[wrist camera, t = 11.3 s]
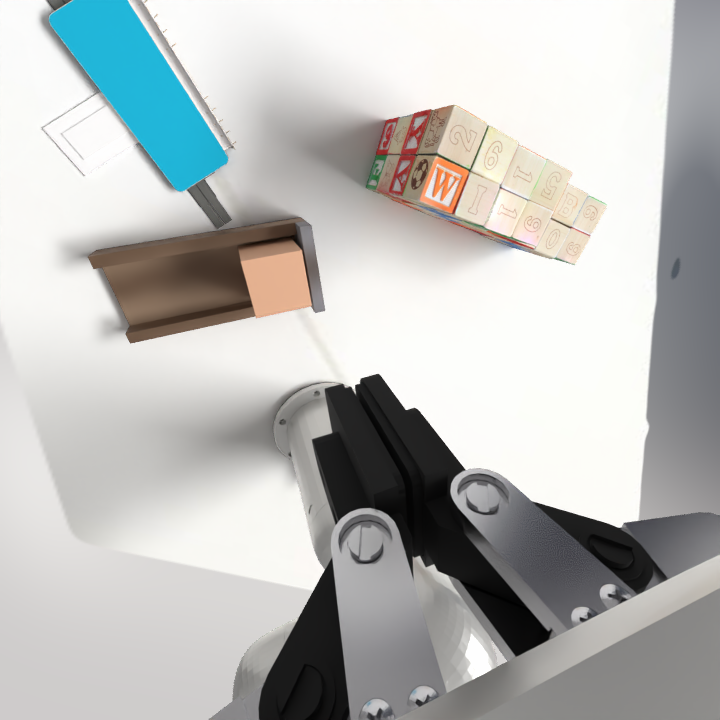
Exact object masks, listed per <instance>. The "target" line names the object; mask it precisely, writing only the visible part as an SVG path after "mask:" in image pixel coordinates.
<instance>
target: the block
mask: <svg viewBox="0 0 720 720" xmlns="http://www.w3.org/2000/svg"><path fill="white" fill-rule="evenodd" d="M238 250H239V255H240V260H241V264H242V268H243V271H244V275H245V279H246V282H247V286H248V290H249V293H250V297H251V301H252V304H253V308H254V312H255V315H256V318H259V317H264V316H269V315H273V314H278V313H282V312H287V311H291V310H296V309H300V308H305V307H310V306H312V304H311V298H310V293H309V287H308V282H307V276H306V271H305V265H304V260H303V254H302V250H301V249H300V248H299V246H298V245H297V244H296V243H295V242H294V241H293V240H292V238H291V237H288V238H283V239H277V240H271V241H265V242H259V243H254V244H248V245H242V246H238Z"/></svg>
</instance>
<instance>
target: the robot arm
mask: <svg viewBox="0 0 720 720" xmlns="http://www.w3.org/2000/svg"><path fill="white" fill-rule="evenodd" d="M273 432H274V438H275V442H276V445H277V447H278V448H279V450H280V451H281V452H282V453H283V454H284V455H285V456H286V457H288V458H289V459H291V460H293V464H294V468H295V473H296V477H297V481H298V485H299V489H300V494H301V498H302V502H303V506H304V510H305V515H306V519H307V523H308V527H309V532H310V536H311V540H312V544H313V548H314V551H315V554H316V556H317V558H318V560H319V562H320V564H321V565H322V566H323V568H324V569H325V571H324V573H323V574H322V576H321V578H320V580H319V582H318V584H317V585H316V587H315V589H314V591H313V593H312V594H311V596H310V598H309V600H308V602H307V604H306V605H305V607H304V609H303V611H302V613H301V615H300V616H299V618H296V619H294V620H292V621H290V622H288V623H286V624H284V625H282V626H280V627H278V628H276V629H274V630H272V631H271V632H269V633H267V634H265V635H264V636H262V637H261V638H259V639H258V640H257V641H256V642H254V644H252V645H251V646H250V648H249V649H248V650H247V651H246V653H245V654H244V656H243V657H242V659H241V661H240V664H239V666H238V668H237V672H236V676H235V680H234V688H233V701H232V702H231V703H230V704H228V705H227V706H226V707H224V708H223V709H222V710H220V711H219V712H218V713H217V714H215V715H214V716H213V717H211V718H210V719H209V720H720V515H716V514H713V513H701V512H699V513H691V514H684V515H677V516H670V517H663V518H655V519H648V520H641V521H634V522H627V523H624V524H623V526H622V527H621V528H617V527H615V526H612V525H610V524H607V523H604V522H601V521H597V520H594V519H590V518H587V517H584V516H580V515H577V514H573V513H570V512H567V511H563V510H560V509H556V508H553V507H549V506H546V505H543V504H539V503H536V502H532V501H531V500H530V499H529V498H527V497H526V496H525V495H524V494H523V493H522V492H521V491H520V490H518V489H517V488H516V487H515V486H514V485H513V484H512V483H510V482H509V481H508V480H507V479H506V478H504V477H503V476H501V475H500V474H498V473H496V472H493V471H491V470H487V469H481V468H476V469H468V470H465V469H464V467H463V466H462V465H461V464H460V462H459V461H458V460H457V458H456V457H455V456H454V455H453V453H452V452H451V451H450V450H449V448H448V447H447V446H446V444H445V443H444V442H443V441H442V439H441V438H440V437H439V435H438V434H437V433H436V432H435V430H434V429H433V428H432V427H431V425H430V424H429V423H428V421H427V420H426V419H425V418H424V416H423V415H422V414H421V413H420V411H419V410H418V409H416V408H412V409H409V410H405V408H404V407H403V406H402V404H401V403H400V402H399V400H398V399H397V398H396V396H395V395H394V393H393V392H392V391H391V389H390V388H389V387H388V385H387V384H386V383H385V381H384V380H383V378H382V377H381V376H380V375H379V374H376V375H372V376H368V377H365V378H361V380H360V384H357V385H355V390H354V389H352V388H351V387H348V386H346V385H343V384H339V383H320V384H315V385H311V386H309V387H306V388H304V389H302V390H300V391H298V392H297V393H295V394H293V395H292V396H291V397H290V398H289V399H287V400H286V402H285V403H284V404H283V405H282V406H281V408H280V409H279V411H278V413H277V415H276V418H275V421H274V427H273ZM492 641H493V642H494V643H495V645H496V646H497V647H498V649H499V650H500V652H501V653H502V654H503V656H504V657H505V659H506V660H507V661H508V662H506V663H504V664H502V665H500V666H498V667H497V658H496V653H495V649H494V646H493V642H492Z"/></svg>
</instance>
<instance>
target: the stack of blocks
mask: <svg viewBox="0 0 720 720" xmlns="http://www.w3.org/2000/svg"><path fill="white" fill-rule="evenodd" d="M571 175H572V172H571V171H569V170H567V169H565V168H564V167H562V166H560V165H558V164H556V163H554V162H553V161H551V160H549V159H545V158H543V157H541V156H540V155H538V154H536V153H534V152H532V151H530V150H529V149H527V148H525V147H523V146H521V145H519V143H518V142H517V141H516V140H514V139H512V138H511V137H509V136H507V135H505V134H504V133H502V132H500V131H498V130H497V129H495V128H493V127H491V126H487V123H486V122H484V121H482V120H481V119H479V118H477V117H476V116H474V115H472V114H471V113H469V112H467V111H466V110H464V109H462V108H461V107H459V106H456V105H451V106H447V107H442V108H439V109H435V110H432V109H429V110H425V111H421V112H417V113H414V114H412V115H409V116H404V117H397V118H394V119H389V120H387V121H386V124H385V127H384V130H383V133H382V136H381V140H380V143H379V146H378V149H377V152H376V157H375V160H374V164H373V167H372V170H371V173H370V176H369V179H368V182H367V185H366V188H367V189H369V190H372V191H374V192H377V193H379V194H382V195H384V196H386V197H389V198H391V199H392V200H394V201H396V202H399V203H401V204H404V205H406V206H409V207H411V208H414V209H416V210H418V211H421V212H423V213H426V214H428V215H431V216H433V217H436V218H439V219H443V220H446V221H449V222H451V223H454V224H456V225H459V226H462V227H465V228H468V229H470V230H473V231H475V232H478V233H480V235H482V236H484V237H487V238H489V239H492V240H494V241H497V242H499V243H503V244H505V245H508V246H510V247H513V248H516V249H519V250H523V251H526V252H529V253H532V254H535V255H539V256H542V257H545V258H549V259H556V260H559V261H563V262H566V263H570V264H573V265H575V264H576V262H577V260H578V259H579V257H580V255H581V253H582V251H583V250H584V248H585V246H586V244H587V243H588V241H589V239H590V235H591V234H592V232H593V231H594V229H595V227H596V225H597V224H598V222H599V220H600V218H601V216H602V214H603V213H604V211H605V209H606V207H607V205H606V204H605V203H603V202H601V201H599V200H597V199H595V198H593V197H591V196H588V194H587V193H585V192H583V191H581V190H579V189H578V188H576V187H574V186H572V185H570V184H567V183H568V181H569V179H570V177H571Z"/></svg>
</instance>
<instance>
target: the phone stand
mask: <svg viewBox="0 0 720 720" xmlns="http://www.w3.org/2000/svg"><path fill="white" fill-rule="evenodd" d="M47 1H48V2H49V3H50V5H51V6H52V7H53V9H54V10H55V11H54V12H52V13H51V14H50V16H49V23H50V25H51V27H52V28H53V29H54V31H55V32H56V33H57V35H58V36H59V37H60V38H61V40H62V41H63V42H64V44H65V45H66V46H67V48H68V49H69V50H70V52H71V53H72V54H73V56H74V57H75V58H76V59H77V61H78V62H79V63H80V65H81V66H82V67H83V69H84V70H85V71H86V73H87V74H88V75H89V77H90V78H91V79H92V80H93V82H94V83H95V84H96V86H97V87H98V88H99V90H100V91H101V92H99V93H97V94H96V95H94V96H93V97H91V98H90V99H88V100H86V101H85V102H83V103H82V104H80V105H78V106H77V107H75V108H74V109H72V110H71V111H69V112H67V113H66V114H64V115H63V116H61V117H60V118H58V119H56V120H55V121H53V122H52V123H50V124H48V125H47V126H45V127H44V128H43V129H44V130H45V131H46V133H47V134H48V135H49V136H50V137H51V138H52V139H53V140H54V142H55V143H56V144H57V145H58V146H59V147H60V148H61V149H62V151H63V152H64V153H65V154H66V155H67V156H68V157H69V158H70V160H71V161H72V162H73V163H74V164H75V165H76V166H77V167H78V169H79V170H80V171H81V172H82V173H83V174H84V175H85V176H87V175H89V174H90V173H92V172H93V171H95V170H96V169H98V168H100V167H101V166H103V165H104V164H106V163H107V162H109V161H111V160H112V159H114V158H115V157H117V156H118V155H120V154H122V153H123V152H125V151H126V150H128V149H129V148H131V147H133V146H134V145H136V144H137V143H139V142H140V143H141V145H142V146H143V147H144V149H145V150H146V151H147V153H148V154H149V155H150V157H151V158H152V159H153V161H154V162H155V163H156V164H157V166H158V167H159V168H160V170H161V171H162V172H163V174H164V175H165V176H166V178H167V179H168V180H169V182H170V183H171V184H172V185H173V187H174V188H175V189H176V190H177V191H180V192H183V191H185V190H187V189H188V191H189V192H190V193H191V195H192V196H193V197H194V199H195V200H196V201H197V203H198V204H199V206H200V207H202V209H203V210H204V211H205V213H206V214H207V215H208V217H209V218H210V219H211V221H212V222H213V223H214V225H215V226H216V227H217V229H218V228H220V227H221V226H223V225H224V224H223V222H224V223H225V224H226V223H228V222H229V221H231V220H232V219H231V218H230V217H229V215H228V214H227V212H226V211H225V209H224V208H223V207H222V205H221V204H220V202H219V201H218V200H217V198H216V195H215V194H214V193H213V191H212V190H211V188H210V187H209V186H208V184H207V183H206V181H205V180H204V179H205V178H207V177H208V176H210V175H211V174H213V173H214V172H215V171H216V170H218V169H220V168H221V167H223V166H224V165H226V164H227V163H228V155H227V154H226V152H225V150H226V149H228V148H229V147H231V146H232V147H233V148H234V146H233V144H234V143H236V142H234V143H233V144H232V143H231V141H230V139H229V138H228V136H227V135H226V133H228V132H229V131H228V132H226V133H225V131H224V130H223V128H222V127H221V125H220V123H219V122H220V121H219V122H218V120H217V119H216V117H215V115H214V114H213V112H212V111H213V110H214V109H215V108H214V109H213V110H211V109H210V107H209V106H208V104H207V103H206V101H205V98H207V97H208V96H207V97H205V98H203V96H202V95H201V93H200V91H199V90H198V88H197V86H196V85H195V83H194V82H193V80H192V78H191V77H190V75H189V74H188V72H187V70H186V69H185V67H184V66H183V64H182V62H181V61H180V59H179V58H178V56H177V54H176V53H175V51H174V50H173V48H172V47H173V46H174V45H175V44H176V43H175V44H174V45H173V46H171V45H170V43H169V42H168V40H167V38H166V37H165V35H164V34H163V33H164V32H165V31H166V30H167V29H166V30H165V31H164V32H162V30H161V29H160V27H159V26H158V24H157V22H156V21H155V19H154V18H155V17H156V16H157V15H158V14H157V15H156V16H155V17H154V18H153V16H152V14H151V13H150V11H149V10H148V8H147V6H146V5H145V2H146V1H147V0H146V1H145V2H144V1H143V0H47ZM222 120H223V119H222ZM222 120H221V121H222ZM234 149H235V148H234ZM208 202H210V204H211V205H212V206H213V208H214V209H215V211H216V212H217V213H218V215H219V216H220V218H221V219H222V220H223V222H222V221H221V220H220V218H219V217H218V215H217V214H216V213H215V211H214V210H213V208H212V207H211V206H210V204H209V203H208Z"/></svg>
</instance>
